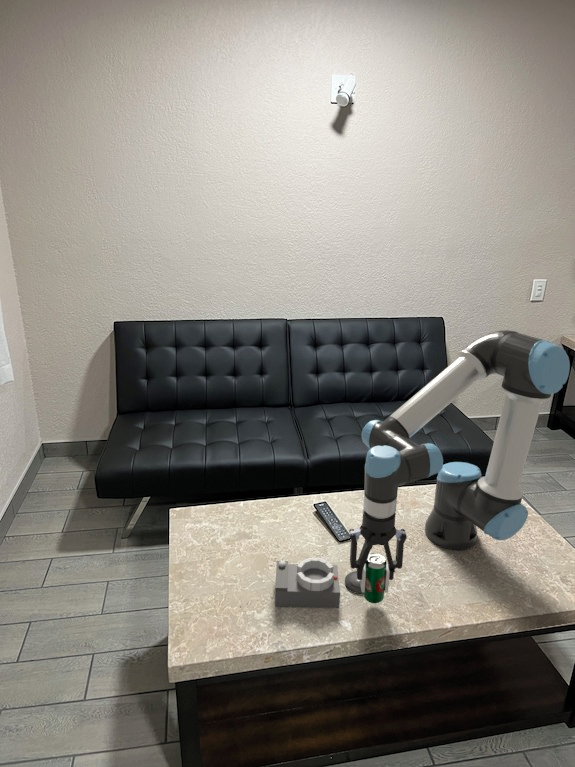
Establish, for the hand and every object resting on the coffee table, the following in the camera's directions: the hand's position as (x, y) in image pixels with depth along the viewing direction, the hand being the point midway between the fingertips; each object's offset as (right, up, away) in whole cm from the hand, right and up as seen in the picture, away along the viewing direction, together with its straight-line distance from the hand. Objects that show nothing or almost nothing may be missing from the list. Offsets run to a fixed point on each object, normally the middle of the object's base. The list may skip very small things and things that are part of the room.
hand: (374, 588), depth 133 cm
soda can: (0, -3, +1) cm, 3 cm away
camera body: (-17, -3, +6) cm, 18 cm away
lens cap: (-2, -2, +9) cm, 10 cm away
